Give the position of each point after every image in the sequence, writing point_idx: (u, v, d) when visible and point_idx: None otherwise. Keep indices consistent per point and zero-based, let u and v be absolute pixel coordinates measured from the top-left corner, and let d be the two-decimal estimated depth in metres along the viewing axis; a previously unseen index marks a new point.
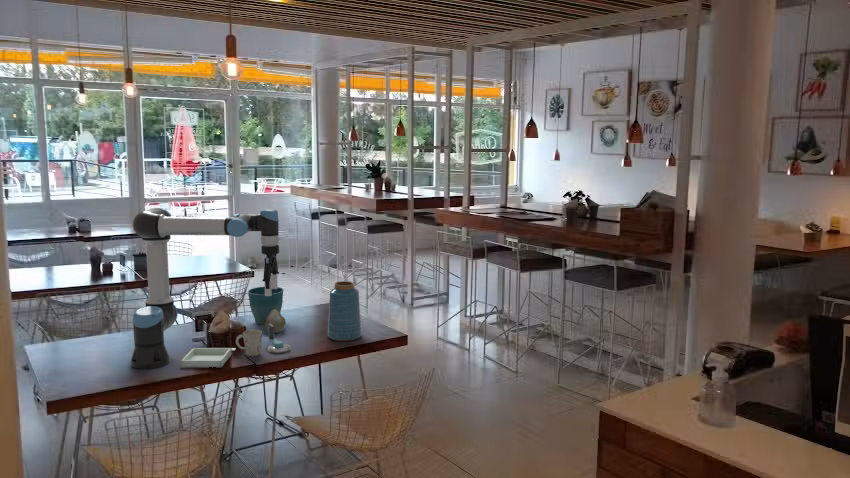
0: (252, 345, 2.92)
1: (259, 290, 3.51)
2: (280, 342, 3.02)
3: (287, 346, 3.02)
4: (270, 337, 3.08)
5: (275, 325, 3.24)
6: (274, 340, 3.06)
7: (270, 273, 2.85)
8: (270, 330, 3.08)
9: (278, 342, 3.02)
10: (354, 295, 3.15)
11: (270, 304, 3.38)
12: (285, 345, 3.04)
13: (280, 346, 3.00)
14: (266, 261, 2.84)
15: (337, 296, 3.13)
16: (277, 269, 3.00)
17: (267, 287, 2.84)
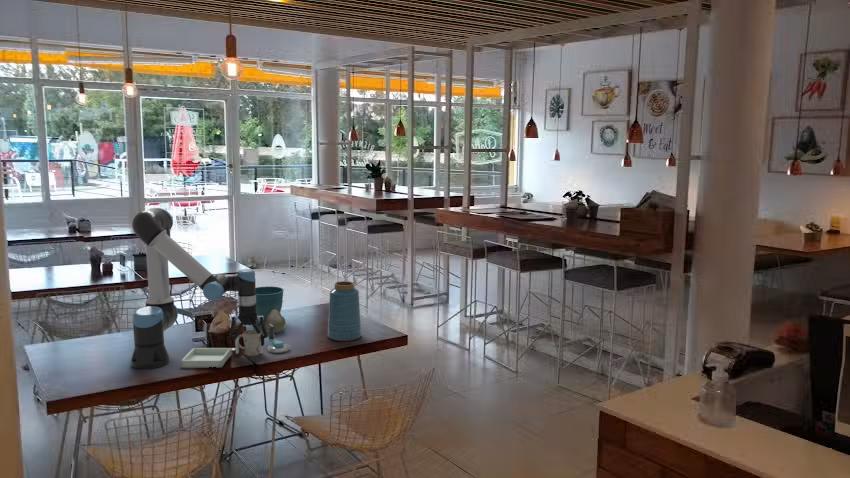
0: (251, 345, 2.92)
1: (259, 290, 3.51)
2: (280, 342, 3.02)
3: (287, 346, 3.02)
4: (270, 337, 3.08)
5: (275, 325, 3.24)
6: (274, 340, 3.06)
7: None
8: (270, 330, 3.08)
9: (278, 342, 3.02)
10: (354, 295, 3.15)
11: (270, 304, 3.38)
12: (285, 345, 3.04)
13: (280, 346, 3.00)
14: None
15: (337, 296, 3.13)
16: (264, 335, 2.94)
17: None
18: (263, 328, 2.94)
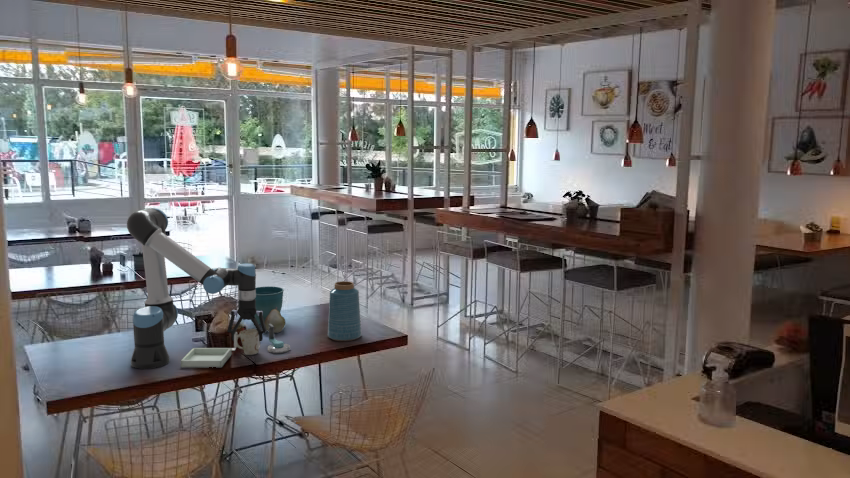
0: (249, 343, 2.92)
1: (259, 290, 3.51)
2: (280, 342, 3.02)
3: (287, 346, 3.02)
4: (270, 337, 3.08)
5: (275, 325, 3.24)
6: (274, 340, 3.06)
7: None
8: (270, 330, 3.08)
9: (278, 342, 3.02)
10: (354, 295, 3.15)
11: (270, 304, 3.38)
12: (285, 345, 3.04)
13: (280, 346, 3.00)
14: None
15: (337, 296, 3.13)
16: (263, 330, 2.94)
17: None
18: (262, 323, 2.93)
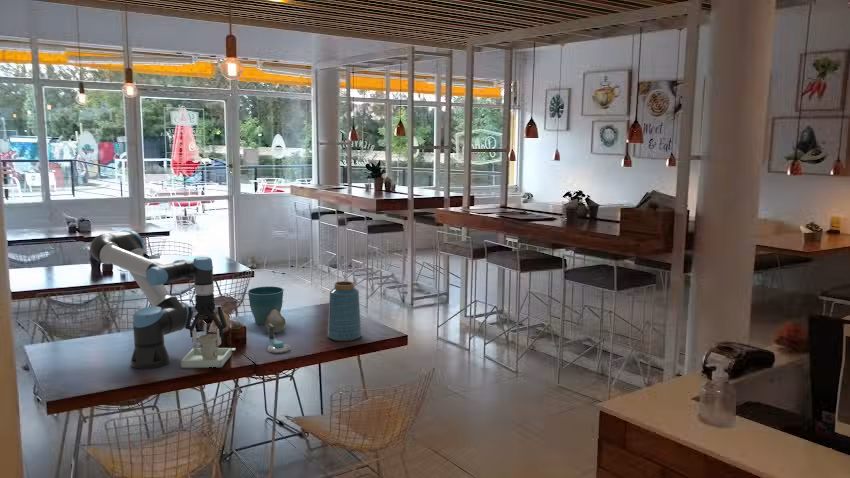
0: (207, 349, 2.82)
1: (259, 290, 3.51)
2: (280, 342, 3.02)
3: (287, 346, 3.02)
4: (270, 337, 3.08)
5: (275, 325, 3.24)
6: (274, 340, 3.06)
7: None
8: (270, 330, 3.08)
9: (278, 342, 3.02)
10: (354, 295, 3.15)
11: (270, 304, 3.38)
12: (285, 345, 3.04)
13: (280, 346, 3.00)
14: None
15: (337, 296, 3.13)
16: (223, 325, 2.83)
17: None
18: (221, 318, 2.82)
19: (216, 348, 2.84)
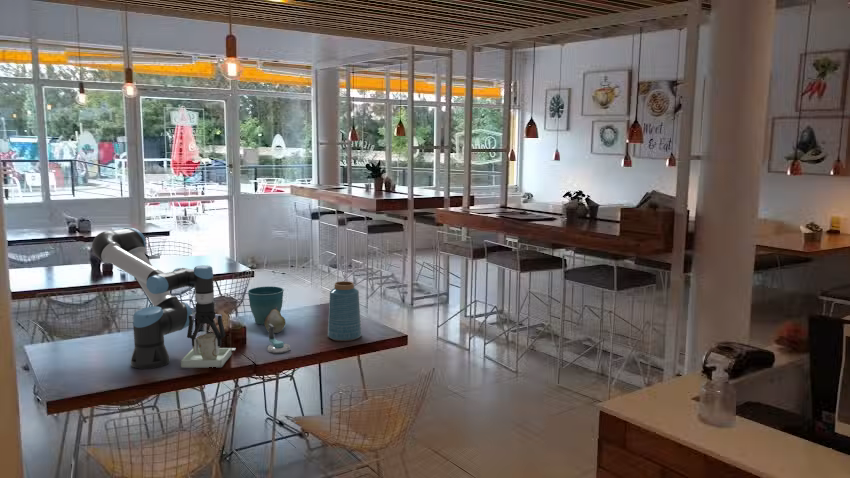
0: (206, 349, 2.82)
1: (259, 290, 3.51)
2: (280, 342, 3.02)
3: (287, 346, 3.02)
4: (270, 337, 3.08)
5: (275, 325, 3.24)
6: (274, 340, 3.06)
7: None
8: (270, 330, 3.08)
9: (278, 342, 3.02)
10: (354, 295, 3.15)
11: (270, 304, 3.38)
12: (285, 345, 3.04)
13: (280, 346, 3.00)
14: None
15: (337, 296, 3.13)
16: (221, 334, 2.83)
17: None
18: (220, 327, 2.83)
19: (215, 347, 2.84)
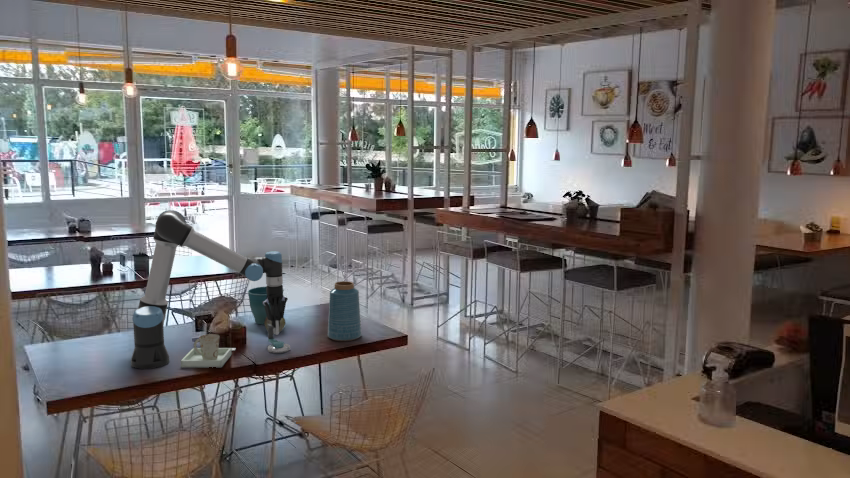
0: (207, 350, 2.82)
1: (259, 290, 3.51)
2: (280, 342, 3.02)
3: (287, 346, 3.02)
4: (269, 337, 3.08)
5: None
6: (274, 340, 3.06)
7: (273, 314, 3.08)
8: (269, 330, 3.08)
9: (278, 342, 3.02)
10: (354, 295, 3.15)
11: None
12: (285, 345, 3.04)
13: (280, 346, 3.00)
14: (264, 304, 3.05)
15: (337, 296, 3.13)
16: (282, 315, 3.11)
17: None
18: (283, 308, 3.12)
19: (216, 348, 2.84)
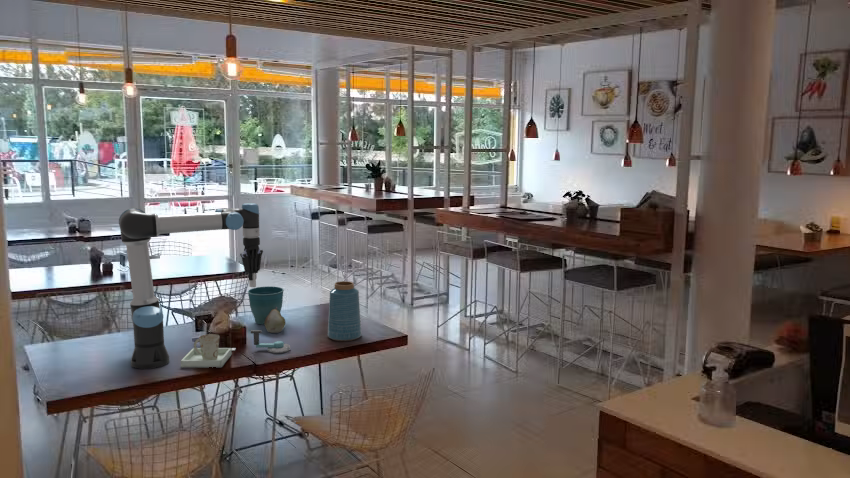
0: (207, 350, 2.82)
1: (259, 290, 3.51)
2: (279, 342, 3.02)
3: (287, 346, 3.02)
4: (258, 343, 3.00)
5: (275, 325, 3.24)
6: (265, 344, 3.01)
7: (251, 266, 3.06)
8: (257, 335, 2.99)
9: (277, 342, 3.01)
10: (354, 295, 3.15)
11: (270, 304, 3.38)
12: (285, 345, 3.04)
13: (283, 345, 3.01)
14: (242, 256, 3.03)
15: (337, 296, 3.13)
16: (258, 267, 3.11)
17: (249, 279, 3.08)
18: (260, 261, 3.11)
19: (216, 348, 2.84)
